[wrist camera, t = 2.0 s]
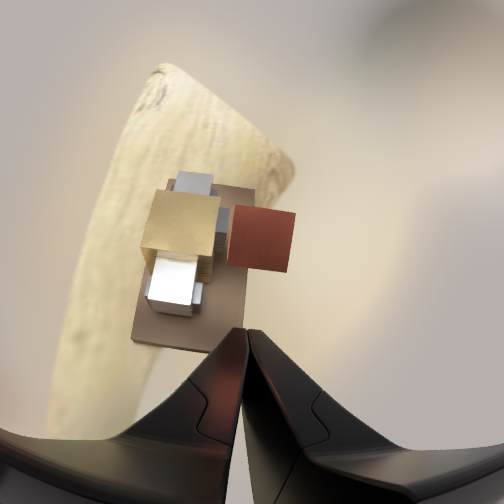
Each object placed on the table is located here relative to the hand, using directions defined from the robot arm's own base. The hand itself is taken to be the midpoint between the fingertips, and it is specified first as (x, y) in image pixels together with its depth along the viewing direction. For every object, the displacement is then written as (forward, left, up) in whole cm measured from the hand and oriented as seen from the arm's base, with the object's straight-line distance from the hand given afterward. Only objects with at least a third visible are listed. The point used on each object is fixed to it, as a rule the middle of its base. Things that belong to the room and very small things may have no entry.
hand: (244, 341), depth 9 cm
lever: (+9, 0, -7) cm, 11 cm away
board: (+9, +3, -13) cm, 16 cm away
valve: (+9, +3, -12) cm, 15 cm away
